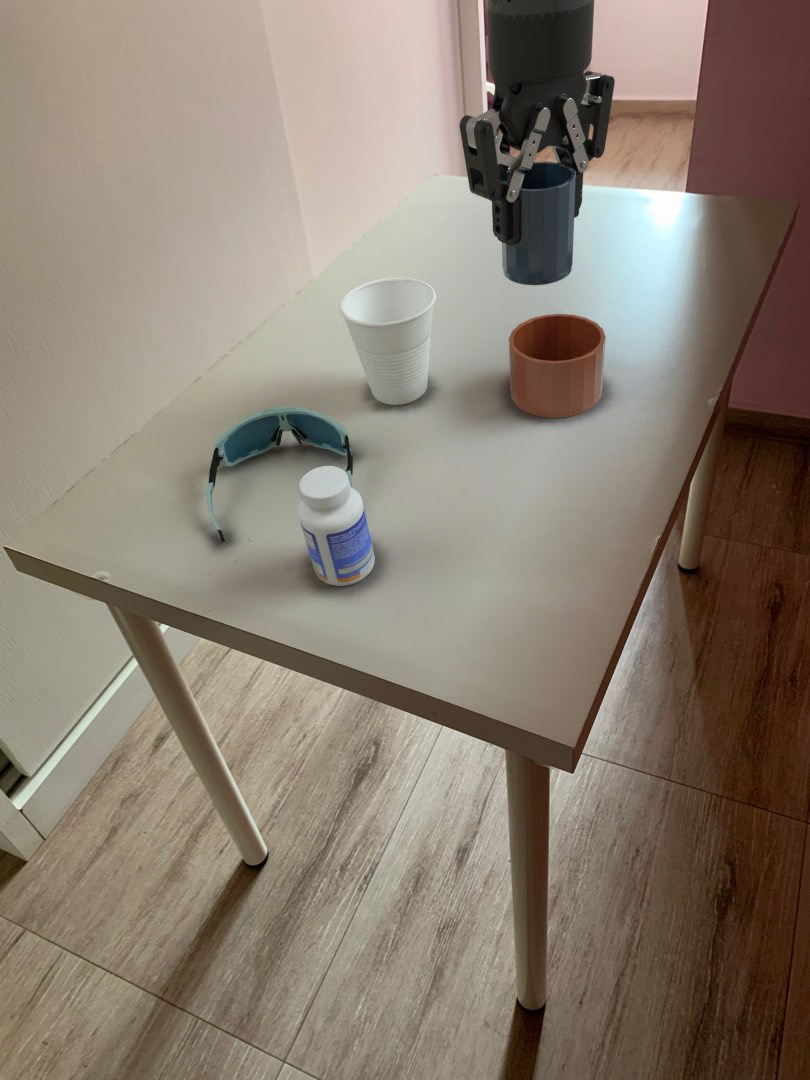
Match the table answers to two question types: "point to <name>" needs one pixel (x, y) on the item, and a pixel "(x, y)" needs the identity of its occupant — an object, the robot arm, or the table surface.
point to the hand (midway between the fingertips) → (538, 228)
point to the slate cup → (543, 226)
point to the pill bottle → (335, 527)
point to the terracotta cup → (556, 365)
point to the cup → (392, 335)
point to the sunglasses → (276, 440)
